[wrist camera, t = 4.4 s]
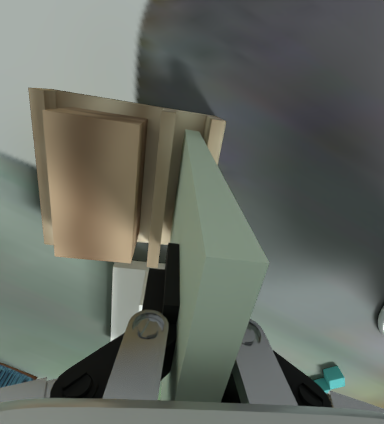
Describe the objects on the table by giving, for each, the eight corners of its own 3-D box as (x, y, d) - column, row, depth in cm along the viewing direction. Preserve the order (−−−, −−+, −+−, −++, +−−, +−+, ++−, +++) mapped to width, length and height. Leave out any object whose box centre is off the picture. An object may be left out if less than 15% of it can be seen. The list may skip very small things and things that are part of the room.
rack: (215, 115, 22) (226, 121, 17) (192, 240, 28) (196, 271, 23) (51, 88, 21) (11, 86, 16) (60, 226, 26) (33, 256, 21)
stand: (194, 266, 29) (199, 309, 23) (179, 342, 34) (180, 393, 28) (115, 259, 28) (99, 302, 22) (113, 338, 33) (99, 390, 27)
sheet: (199, 131, 21) (269, 263, 5) (182, 233, 25) (188, 492, 9) (185, 129, 21) (205, 256, 4) (170, 232, 25) (154, 493, 9)
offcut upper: (144, 121, 18) (139, 124, 16) (135, 246, 23) (130, 263, 21) (59, 108, 18) (42, 109, 16) (67, 240, 22) (54, 256, 20)
